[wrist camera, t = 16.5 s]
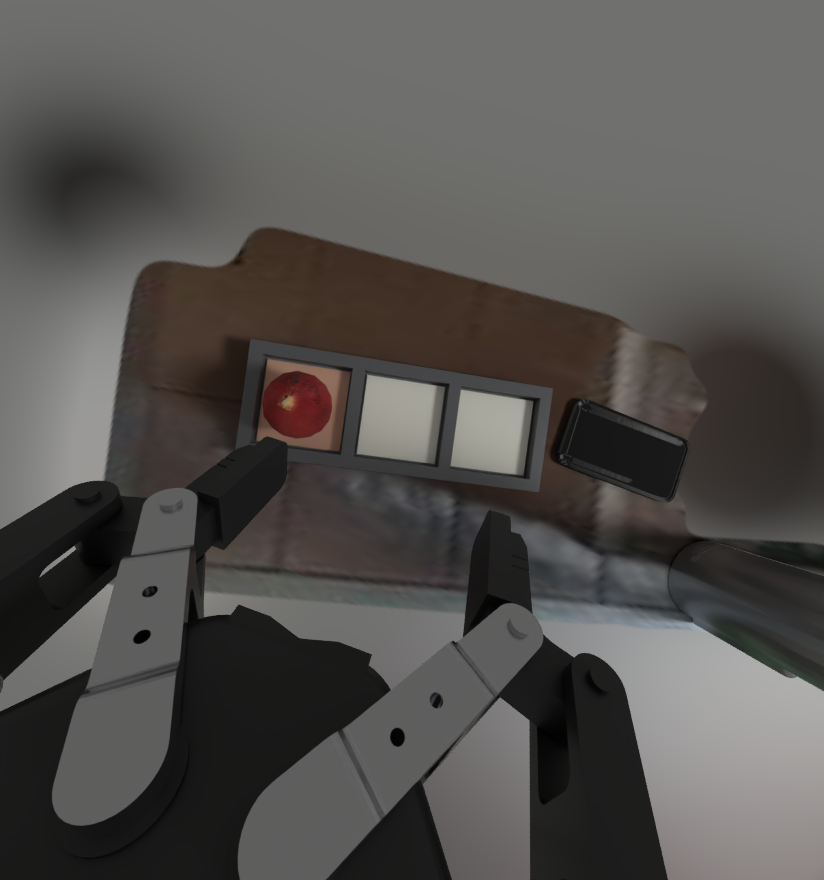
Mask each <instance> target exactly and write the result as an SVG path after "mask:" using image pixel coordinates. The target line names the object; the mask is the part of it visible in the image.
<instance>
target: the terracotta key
mask: <svg viewBox="0 0 824 880" xmlns="http://www.w3.org/2000/svg"><path fill="white" fill-rule="evenodd" d="M293 371H300V372H304V373H307V374H311V375H315V376H316V377H317V378H318V379H319V380H320V381H322V382H323V383H324V384H325V385H326V387H327V389H328V391H329V393H330V395H331V397H332V412H331V416H330V420H329V422H328V423H327V424H326V425H325V427H324V428H323V429H322V431H320V432H318V433H316V434H314V435H313V436H311V437H306V438H298V439H295V438H291V437H287V436H283V435H282V434H280V433H279V432H277V431H276V430H274V429H273V428H272V427H271V426H270V425H269V423H268V422H267V420H266V419H265V417H264V415H263V406H262V403H261V410H260V417H259V424H258V432H257V439H256V441H261V440H262V439H263V438H264V437H267V436H268V437H272V438H275V439H278V440H281V441H284V442H286V443H287V445H293V446H301V447H308V448H316V449H324V450H331V451H339V452H340V447H341V440H342V433H343V425H344V418H345V411H346V404H347V397H348V389H349V382H350V375H351V372H347V371H340V370H334V369H328V368H321V367H315V366H309V365H302V364H296V363H290V362H284V361H277V360H271V359H268V360H267V367H266V374H265V382H264V389H263V396H264V391H265V390H266V388H267V387H268V385H269V384H270V383H271V381H273V380H274V379H276V378H277V377H279V376H280V375H282V374H283V373H287V372H293ZM263 396H262V401H263Z"/></svg>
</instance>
